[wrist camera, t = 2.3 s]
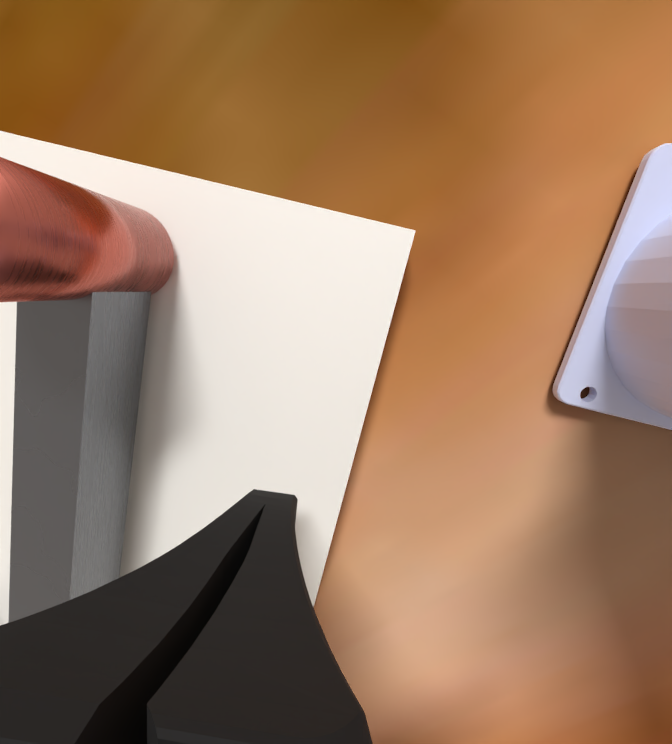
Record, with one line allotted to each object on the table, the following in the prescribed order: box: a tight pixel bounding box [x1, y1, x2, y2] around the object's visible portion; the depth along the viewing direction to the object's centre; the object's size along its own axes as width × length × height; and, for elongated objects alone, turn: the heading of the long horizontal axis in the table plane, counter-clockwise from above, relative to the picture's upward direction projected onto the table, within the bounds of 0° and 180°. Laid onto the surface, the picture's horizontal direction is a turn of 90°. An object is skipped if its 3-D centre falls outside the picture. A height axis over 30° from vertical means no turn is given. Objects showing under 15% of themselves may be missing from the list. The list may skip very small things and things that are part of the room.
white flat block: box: [0, 131, 415, 625], centre depth 12 cm, size 16×22×4 cm
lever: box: [0, 157, 174, 623], centre depth 10 cm, size 21×4×5 cm, turn 167°
